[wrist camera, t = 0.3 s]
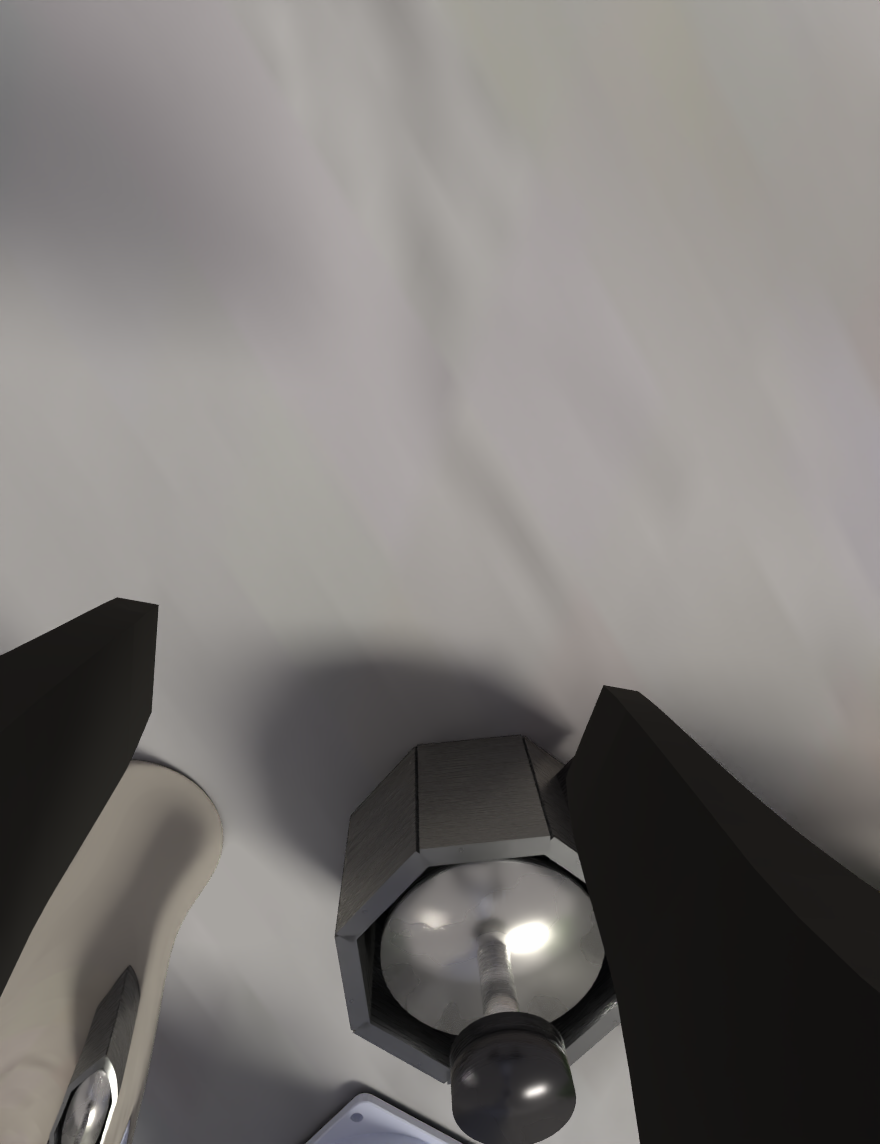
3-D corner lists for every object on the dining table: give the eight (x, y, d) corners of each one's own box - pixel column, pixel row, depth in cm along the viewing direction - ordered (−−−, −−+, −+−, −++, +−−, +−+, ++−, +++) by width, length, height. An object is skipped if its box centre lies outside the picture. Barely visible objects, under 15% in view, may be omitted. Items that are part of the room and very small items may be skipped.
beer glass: (6, 862, 24) (-568, 1584, 10) (83, 712, 23) (-471, 1324, 8) (185, 937, 26) (-95, 1667, 11) (271, 801, 24) (69, 1457, 10)
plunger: (501, 1057, 22) (524, 1233, 18) (335, 959, 21) (315, 1125, 16) (647, 927, 21) (711, 1082, 16) (481, 812, 19) (502, 949, 15)
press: (489, 978, 27) (508, 1119, 22) (305, 864, 25) (279, 991, 20) (671, 809, 25) (736, 922, 20) (486, 668, 23) (507, 756, 18)
